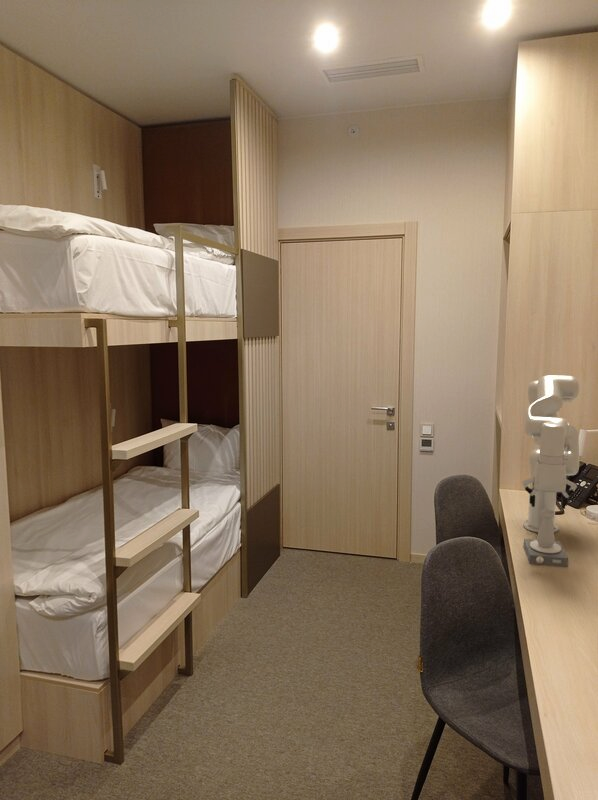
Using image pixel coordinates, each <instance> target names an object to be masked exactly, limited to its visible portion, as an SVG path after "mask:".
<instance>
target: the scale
mask: <svg viewBox="0 0 598 800" xmlns="http://www.w3.org/2000/svg"><path fill="white" fill-rule="evenodd" d="M523 549H524V552H525V555H526V557H527V560H528V563H529V564H531V565H543V566H544V565H545V566H554V567H564V566H565V567H566V568H567V567H569V557H568V555H567V553H566V551H565V549H564V547H563V545H562V543H561V541H558V540H555V542H554V544H553V546H552V547H551V548H543V547H541V546H539V544H538V541H537V539H530V538H523Z"/></svg>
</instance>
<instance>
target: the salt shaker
mask: <svg viewBox="0 0 598 800" xmlns="http://www.w3.org/2000/svg"><path fill="white" fill-rule="evenodd" d="M541 516H542V521H541V525H540V528H539V532H538V533H537V536H536V540H537V541H538V544H539V546H541V547H543V548H551V547H552V546H553V544H554V542H555V541H556V537H555V533H554V529H553V520H552V518H553V517H554V511H553V510H551V509H543V510H541Z"/></svg>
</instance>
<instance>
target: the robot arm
mask: <svg viewBox="0 0 598 800" xmlns="http://www.w3.org/2000/svg"><path fill="white" fill-rule="evenodd" d="M579 394H580V383H579V380H578V379H577V377H576V376H573V375H561V374H557V375H556V374H550V375H549V374H547V375H543V376H541V377H540V378H539V379H538V380H533V381H531V382H530V383H529V384H528V386H527V398H528V403H529V406H528V407H527V409H526V410H525V413H524V431H525V434H526V436H527V437H529V438H533V442H534V445H535V446H536V447H538V448H535V449H533V450H531V451H530V454H529V457H528V459H529V460H528V461H529V462H528V463H529V472H530V473H529V475H530V477H529V478H527V479H524V480H523V481H521V483H522V486H523V487H524V489H525V491H526V492H527V493H528V494H529V496H528V497H529V498H528V499H529V500H528V513H527V515H528V516H527V519H526V520H524V522H523V527H524V528H525V529H527V530H528V531H530V532H533V533H537V534H538V532H539V528H540V525H541V521H542V516H541V510H543V509H551V510H553V511H554V517H553V518H552V520H553V529H554V534H555V533H556V532H558V531H559V525H558V524H556V523H555V521H556V519H555V518H556V503H557V493H561V494H562V495H561V500H560V501H561V502H560V507H561V508H562V509H563V510H565V509H566V506H568V499H569V497H570V496H571V495H572V494H574V492H575V490H576V489H577V488H578V485H577V483H575V482H573V481H570V480H569V479H567V476H575V475H577V474H578V473H579V469H580V447H579V446H580V443H579V442H580V439H579V433H578V430H577V428H576V427H575V426H573V425H570V422H568V420H567V419H566V418H563V417H558V414H557V412H560V410H561V408H562V407H563V403H572V402H574V400H576V399H577V398H578V395H579ZM567 485H568V486H570V488H569V489H567ZM566 489H567V490H566Z"/></svg>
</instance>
